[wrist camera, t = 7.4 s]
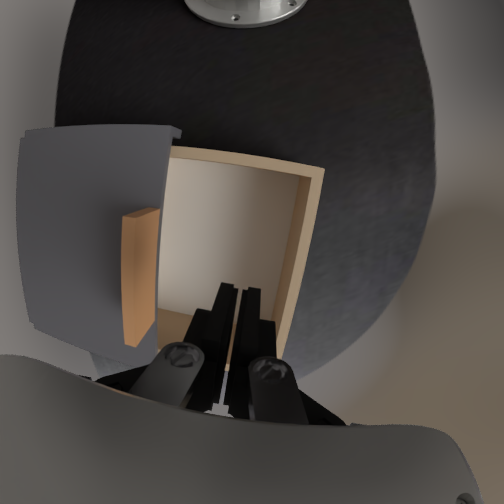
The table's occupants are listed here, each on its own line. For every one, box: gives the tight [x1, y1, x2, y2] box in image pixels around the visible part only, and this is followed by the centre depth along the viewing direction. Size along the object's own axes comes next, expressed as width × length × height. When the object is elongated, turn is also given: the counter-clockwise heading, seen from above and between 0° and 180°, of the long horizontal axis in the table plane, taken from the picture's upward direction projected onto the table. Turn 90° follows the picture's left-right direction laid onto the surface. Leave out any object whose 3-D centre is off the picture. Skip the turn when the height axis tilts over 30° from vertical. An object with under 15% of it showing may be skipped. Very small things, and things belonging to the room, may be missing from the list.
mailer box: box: [157, 146, 325, 371], centre depth 22 cm, size 16×13×7 cm
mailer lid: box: [16, 124, 182, 368], centre depth 17 cm, size 18×14×6 cm
